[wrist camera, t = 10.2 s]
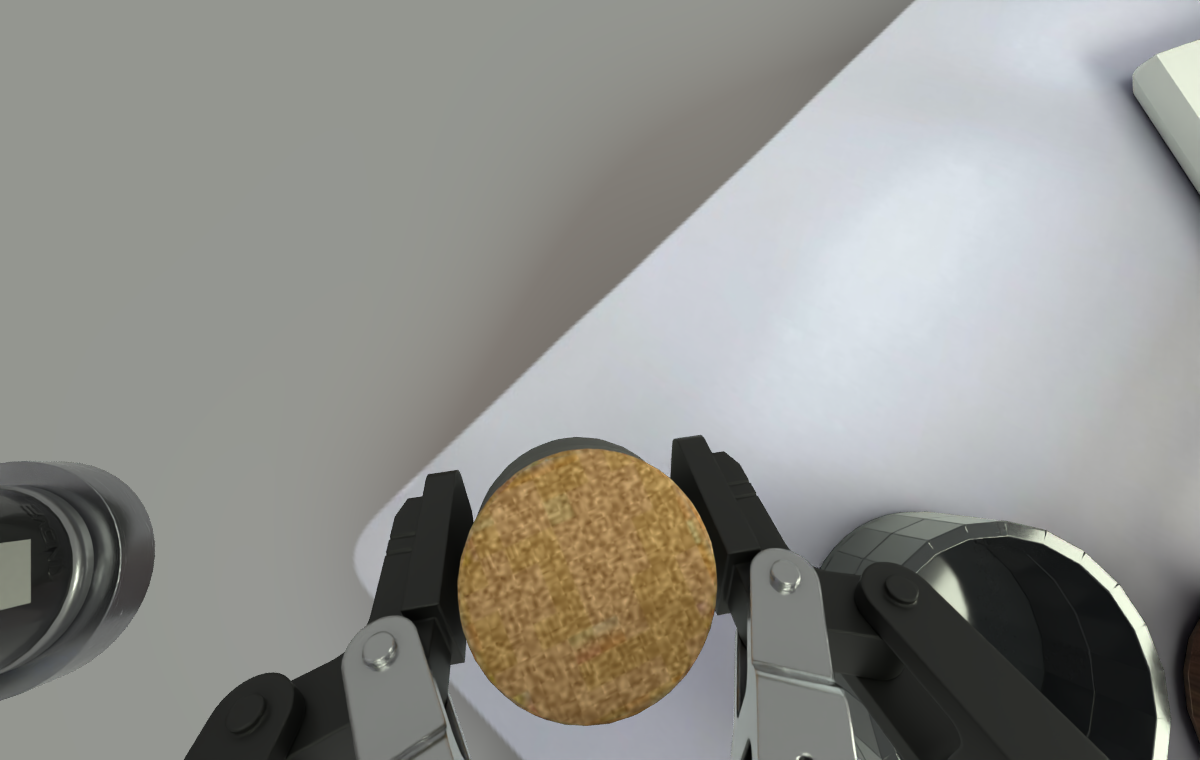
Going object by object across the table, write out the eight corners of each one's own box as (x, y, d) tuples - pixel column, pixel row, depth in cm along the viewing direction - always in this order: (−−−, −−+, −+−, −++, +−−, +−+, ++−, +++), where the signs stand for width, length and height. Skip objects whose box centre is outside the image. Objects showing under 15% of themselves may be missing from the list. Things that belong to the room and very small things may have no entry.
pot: (899, 849, 26) (995, 958, 21) (754, 591, 29) (804, 623, 23) (1096, 695, 29) (1233, 752, 23) (950, 466, 31) (1041, 466, 25)
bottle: (624, 446, 24) (726, 407, 9) (634, 568, 23) (771, 742, 8) (507, 455, 23) (419, 429, 9) (513, 580, 22) (422, 793, 8)
